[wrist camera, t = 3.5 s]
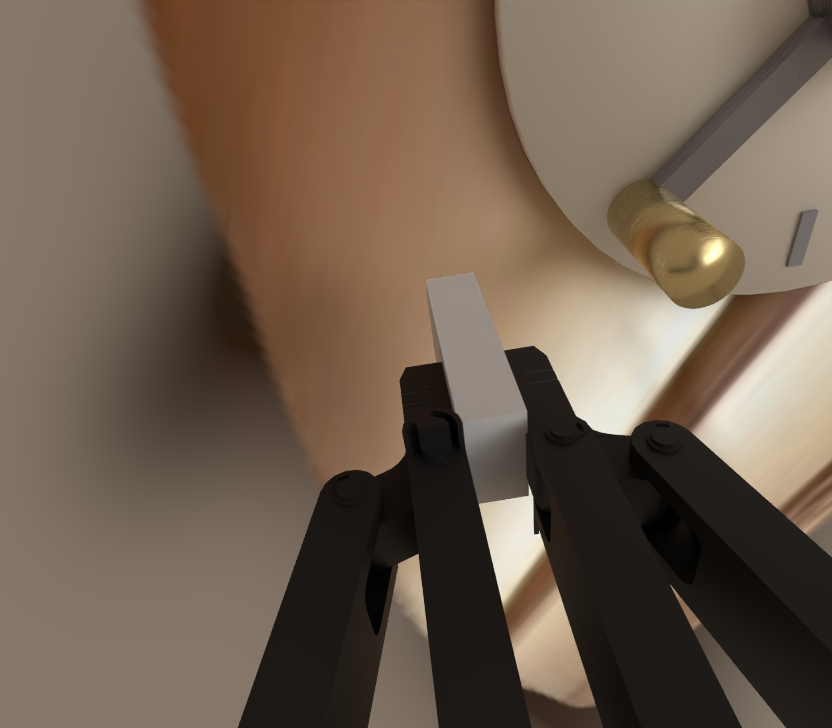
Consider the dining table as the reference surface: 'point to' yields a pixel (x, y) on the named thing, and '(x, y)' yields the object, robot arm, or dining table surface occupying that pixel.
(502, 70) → the dial board
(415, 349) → the dining table surface
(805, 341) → the dining table surface
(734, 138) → the crank handle
